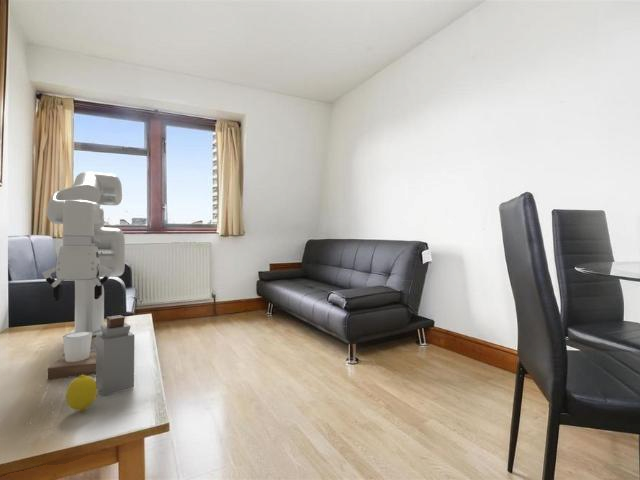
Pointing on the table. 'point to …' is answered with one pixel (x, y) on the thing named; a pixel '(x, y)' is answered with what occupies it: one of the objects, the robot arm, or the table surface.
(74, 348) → the white cup
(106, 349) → the perfume bottle
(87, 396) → the lemon
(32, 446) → the table surface
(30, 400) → the table surface
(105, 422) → the table surface
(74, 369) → the walnut plinth
